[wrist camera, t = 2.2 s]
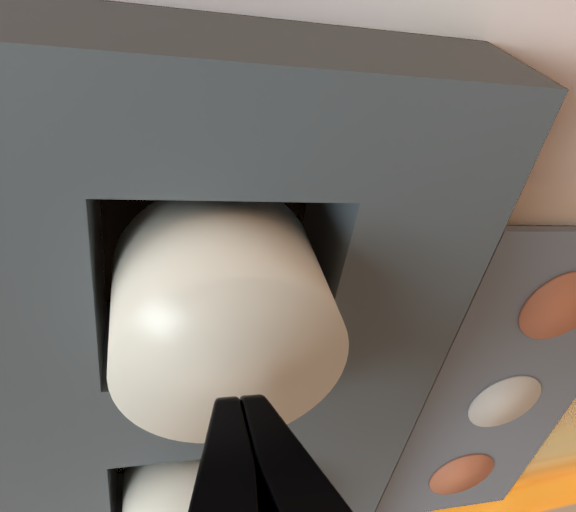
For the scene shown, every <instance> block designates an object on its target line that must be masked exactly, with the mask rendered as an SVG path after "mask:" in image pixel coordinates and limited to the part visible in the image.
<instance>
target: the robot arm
mask: <svg viewBox="0 0 576 512" xmlns="http://www.w3.org/2000/svg"><path fill="white" fill-rule="evenodd" d="M188 512H353V511H352V510H351V508H350V507H349V506H348V504H347V503H346V502H345V500H344V499H343V498H342V496H341V495H340V494H339V493H338V491H337V490H336V489H335V487H334V486H333V485H332V483H331V482H330V481H329V479H328V478H327V477H326V475H325V474H324V473H323V471H322V470H321V469H320V468H319V466H318V465H317V464H316V462H315V461H314V460H313V458H312V457H311V456H310V454H309V453H308V452H307V450H306V449H305V448H304V447H303V445H302V444H301V443H300V441H299V440H298V439H297V437H296V436H295V435H294V433H293V432H292V431H291V429H290V428H289V427H288V426H287V424H286V423H285V422H284V420H283V419H282V418H281V416H280V415H279V414H278V412H277V411H276V410H275V408H274V407H273V406H272V405H271V403H270V402H269V401H268V399H267V398H266V397H265V396H264V395H261V394H256V395H244V396H241V397H240V399H239V398H238V397H236V396H231V397H219V398H216V400H215V402H214V405H213V409H212V413H211V417H210V422H209V426H208V430H207V434H206V438H205V442H204V447H203V451H202V455H201V459H200V463H199V467H198V472H197V476H196V480H195V484H194V488H193V492H192V497H191V501H190V505H189V509H188Z"/></svg>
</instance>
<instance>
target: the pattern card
mask: <svg viewBox="0 0 576 512" xmlns="http://www.w3.org/2000/svg"><path fill="white" fill-rule="evenodd" d="M575 397H576V226H505V229H504V231H503V233H502V235H501V237H500V240H499V242H498V244H497V246H496V248H495V250H494V253H493V255H492V257H491V259H490V261H489V264H488V266H487V268H486V270H485V272H484V274H483V277H482V279H481V281H480V283H479V285H478V287H477V290H476V292H475V294H474V296H473V298H472V301H471V303H470V305H469V307H468V309H467V311H466V314H465V316H464V318H463V320H462V322H461V324H460V327H459V329H458V331H457V333H456V335H455V338H454V340H453V342H452V344H451V346H450V348H449V351H448V353H447V355H446V357H445V359H444V361H443V364H442V366H441V368H440V370H439V372H438V375H437V377H436V379H435V381H434V383H433V385H432V388H431V390H430V392H429V394H428V396H427V398H426V401H425V403H424V405H423V407H422V409H421V412H420V414H419V416H418V418H417V420H416V422H415V425H414V427H413V429H412V431H411V433H410V436H409V438H408V440H407V442H406V444H405V446H404V449H403V451H402V453H401V455H400V457H399V459H398V462H397V464H396V466H395V468H394V470H393V473H392V475H391V477H390V479H389V481H388V483H387V486H386V488H385V490H384V492H383V494H382V496H381V499H380V501H379V503H378V505H377V507H376V510H375V512H426V511H433V510H439V509H446V508H453V507H459V506H466V505H473V504H479V503H486V502H493V501H500V500H503V499H504V498H505V497H506V495H507V494H508V492H509V491H510V490H511V488H512V487H513V485H514V484H515V482H516V481H517V480H518V478H519V477H520V475H521V474H522V472H523V471H524V470H525V468H526V467H527V465H528V464H529V463H530V461H531V460H532V458H533V457H534V455H535V454H536V453H537V451H538V450H539V448H540V447H541V445H542V444H543V443H544V441H545V440H546V438H547V437H548V436H549V434H550V433H551V431H552V430H553V428H554V427H555V426H556V424H557V423H558V421H559V420H560V419H561V417H562V416H563V414H564V413H565V411H566V410H567V409H568V407H569V406H570V404H571V403H572V401H573V400H574V399H575Z"/></svg>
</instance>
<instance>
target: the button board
mask: <svg viewBox="0 0 576 512" xmlns="http://www.w3.org/2000/svg"><path fill="white" fill-rule="evenodd" d="M567 92H568V89H567V88H565V87H563V86H562V85H560V84H558V83H556V82H555V81H553V80H551V79H550V78H548V77H546V76H545V75H543V74H541V73H540V72H538V71H536V70H534V69H533V68H531V67H529V66H528V65H526V64H524V63H523V62H521V61H519V60H518V59H516V58H514V57H512V56H511V55H509V54H507V53H506V52H504V51H502V50H501V49H499V48H497V47H496V46H494V45H492V44H491V43H489V42H487V41H479V40H469V39H460V38H451V37H441V36H432V35H423V34H413V33H404V32H395V31H385V30H376V29H367V28H357V27H348V26H339V25H329V24H320V23H311V22H301V21H292V20H283V19H273V18H264V17H255V16H245V15H236V14H227V13H217V12H208V11H199V10H189V9H180V8H171V7H161V6H152V5H143V4H133V3H124V2H114V1H105V0H0V512H122V496H123V473H117V468H122V467H131V466H141V465H150V464H159V463H168V462H178V461H187V460H196V459H201V455H202V451H203V447H204V443H189V442H181V441H176V440H170V439H167V438H164V437H160V436H157V435H155V434H152V433H150V432H148V431H145V430H144V429H142V428H140V427H138V426H137V425H135V424H134V423H133V422H131V421H130V420H129V419H127V418H126V417H125V416H124V415H123V414H122V412H121V411H120V410H119V409H118V408H117V406H116V405H115V403H114V401H113V400H112V397H111V395H110V392H109V390H108V384H107V358H108V339H109V321H110V303H111V302H109V303H106V286H105V269H104V253H103V236H102V220H101V203H100V199H117V200H180V201H243V202H306V203H307V204H306V209H305V214H304V219H303V224H302V226H303V228H304V230H305V232H306V234H307V237H308V239H309V241H310V244H311V246H312V248H313V251H314V253H315V255H316V258H317V260H318V262H319V265H320V267H321V270H322V272H323V274H324V277H325V279H326V281H327V284H328V286H329V288H330V291H331V293H332V295H333V298H334V300H335V302H336V305H337V307H338V309H339V312H340V314H341V316H342V319H343V321H344V324H345V327H346V329H347V333H348V339H349V353H348V357H347V362H346V365H345V367H344V370H343V372H342V374H341V376H340V378H339V379H338V381H337V383H336V384H335V386H334V387H333V388H332V390H331V391H330V392H329V393H328V394H327V395H326V396H325V397H324V398H323V399H322V401H320V402H319V403H318V404H317V405H316V406H315V407H313V408H312V409H311V410H309V411H308V412H307V413H305V414H304V415H302V416H301V417H299V418H297V419H296V420H294V421H292V422H291V423H289V424H287V426H288V427H289V428H290V429H291V431H292V432H293V433H294V435H295V436H296V437H297V439H298V440H299V441H300V443H301V444H302V445H303V447H304V448H305V449H306V450H307V452H308V453H309V454H310V456H311V457H312V458H313V460H314V461H315V462H316V464H317V465H318V466H319V468H320V469H321V470H322V471H323V473H324V474H325V475H326V477H327V478H328V479H329V481H330V482H331V483H332V485H333V486H334V487H335V489H336V490H337V491H338V493H339V494H340V495H341V496H342V498H343V499H344V500H345V502H346V503H347V504H348V506H349V507H350V508H351V510H352V511H353V512H375V510H376V507H377V505H378V503H379V501H380V499H381V496H382V494H383V492H384V490H385V488H386V486H387V483H388V481H389V479H390V477H391V475H392V473H393V470H394V468H395V466H396V464H397V462H398V459H399V457H400V455H401V453H402V451H403V449H404V446H405V444H406V442H407V440H408V438H409V436H410V433H411V431H412V429H413V427H414V425H415V422H416V420H417V418H418V416H419V414H420V412H421V409H422V407H423V405H424V403H425V401H426V398H427V396H428V394H429V392H430V390H431V388H432V385H433V383H434V381H435V379H436V377H437V375H438V372H439V370H440V368H441V366H442V364H443V361H444V359H445V357H446V355H447V353H448V351H449V348H450V346H451V344H452V342H453V340H454V338H455V335H456V333H457V331H458V329H459V327H460V324H461V322H462V320H463V318H464V316H465V314H466V311H467V309H468V307H469V305H470V303H471V301H472V298H473V296H474V294H475V292H476V290H477V287H478V285H479V283H480V281H481V279H482V277H483V274H484V272H485V270H486V268H487V266H488V264H489V261H490V259H491V257H492V255H493V253H494V250H495V248H496V246H497V244H498V242H499V240H500V237H501V235H502V233H503V231H504V229H505V226H506V224H507V222H508V220H509V218H510V216H511V213H512V211H513V209H514V207H515V205H516V203H517V200H518V198H519V196H520V194H521V192H522V189H523V187H524V185H525V183H526V181H527V179H528V176H529V174H530V172H531V170H532V168H533V166H534V163H535V161H536V159H537V157H538V155H539V152H540V150H541V148H542V146H543V144H544V142H545V139H546V137H547V135H548V133H549V131H550V129H551V126H552V124H553V122H554V120H555V118H556V115H557V113H558V111H559V109H560V107H561V105H562V102H563V100H564V98H565V96H566V94H567Z"/></svg>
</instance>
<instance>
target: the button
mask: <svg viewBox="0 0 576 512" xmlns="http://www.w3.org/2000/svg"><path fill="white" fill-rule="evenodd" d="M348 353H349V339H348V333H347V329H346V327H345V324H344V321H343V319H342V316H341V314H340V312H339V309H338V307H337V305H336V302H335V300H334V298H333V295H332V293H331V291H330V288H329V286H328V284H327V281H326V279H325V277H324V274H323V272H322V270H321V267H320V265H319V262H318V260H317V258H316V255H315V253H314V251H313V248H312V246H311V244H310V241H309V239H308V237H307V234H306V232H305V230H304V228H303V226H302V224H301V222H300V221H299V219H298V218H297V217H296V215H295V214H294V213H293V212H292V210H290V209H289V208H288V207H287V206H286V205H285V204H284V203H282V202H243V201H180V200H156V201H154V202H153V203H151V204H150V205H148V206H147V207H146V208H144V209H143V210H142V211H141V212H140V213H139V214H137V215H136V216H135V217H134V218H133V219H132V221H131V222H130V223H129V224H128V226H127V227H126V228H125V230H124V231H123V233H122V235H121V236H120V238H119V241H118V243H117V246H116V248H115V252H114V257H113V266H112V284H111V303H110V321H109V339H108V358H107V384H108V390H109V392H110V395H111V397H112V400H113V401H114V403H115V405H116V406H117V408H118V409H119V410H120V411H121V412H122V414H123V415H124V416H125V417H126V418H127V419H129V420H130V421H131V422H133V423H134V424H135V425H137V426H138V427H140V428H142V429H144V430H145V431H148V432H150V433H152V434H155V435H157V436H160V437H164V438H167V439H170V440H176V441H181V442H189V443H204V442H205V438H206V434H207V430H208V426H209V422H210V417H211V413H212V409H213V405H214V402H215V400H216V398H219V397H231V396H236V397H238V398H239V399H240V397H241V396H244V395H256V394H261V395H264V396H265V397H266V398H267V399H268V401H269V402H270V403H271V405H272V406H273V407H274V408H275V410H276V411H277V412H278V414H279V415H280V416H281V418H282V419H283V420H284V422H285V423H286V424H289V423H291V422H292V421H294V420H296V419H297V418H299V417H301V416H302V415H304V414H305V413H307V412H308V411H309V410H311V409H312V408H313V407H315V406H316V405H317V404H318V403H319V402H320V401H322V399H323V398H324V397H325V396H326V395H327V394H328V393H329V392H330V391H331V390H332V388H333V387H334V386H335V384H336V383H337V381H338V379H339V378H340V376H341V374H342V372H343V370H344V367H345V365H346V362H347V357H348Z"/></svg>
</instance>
